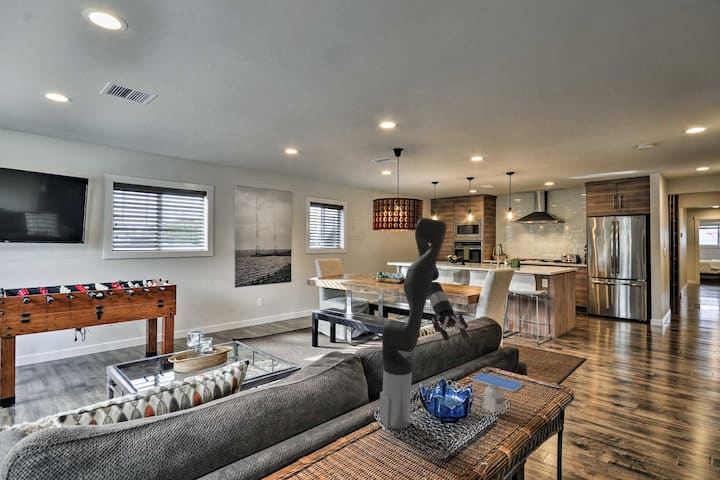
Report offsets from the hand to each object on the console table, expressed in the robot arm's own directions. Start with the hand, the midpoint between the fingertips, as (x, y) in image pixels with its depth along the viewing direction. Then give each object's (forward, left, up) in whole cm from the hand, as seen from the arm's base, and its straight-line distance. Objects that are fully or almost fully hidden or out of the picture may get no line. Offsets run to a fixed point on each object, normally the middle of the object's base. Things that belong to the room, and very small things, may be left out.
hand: (456, 339), depth 147 cm
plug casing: (+6, -15, -23) cm, 28 cm away
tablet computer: (+28, +8, -23) cm, 37 cm away
